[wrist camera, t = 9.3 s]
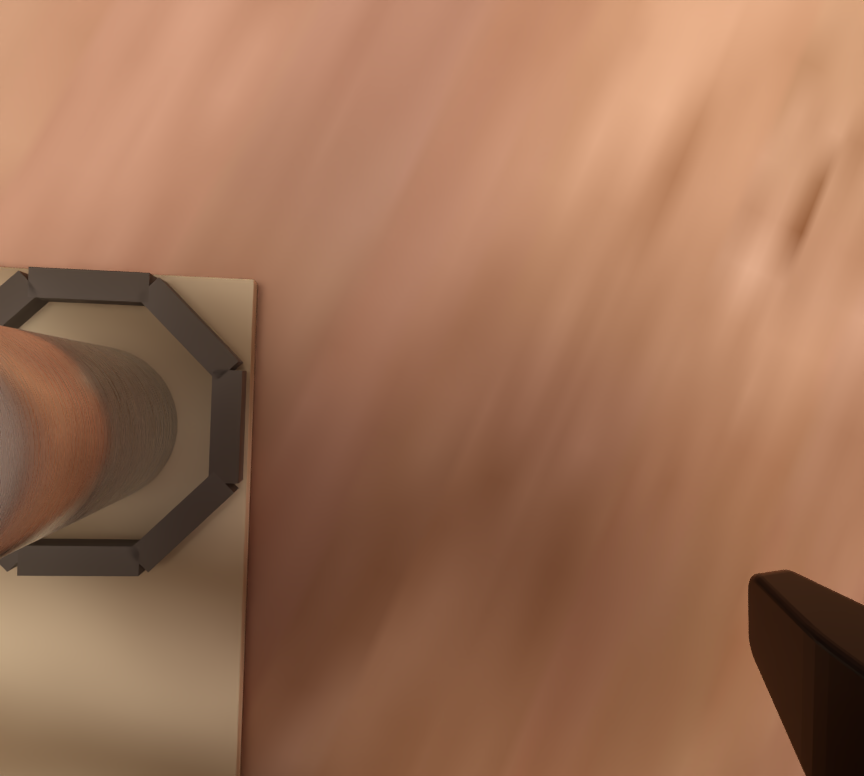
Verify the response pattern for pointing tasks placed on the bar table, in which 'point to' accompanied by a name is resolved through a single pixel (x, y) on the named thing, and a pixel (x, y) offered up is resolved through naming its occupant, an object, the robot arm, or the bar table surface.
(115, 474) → the steel peg
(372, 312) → the bar table surface
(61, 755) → the birch board
